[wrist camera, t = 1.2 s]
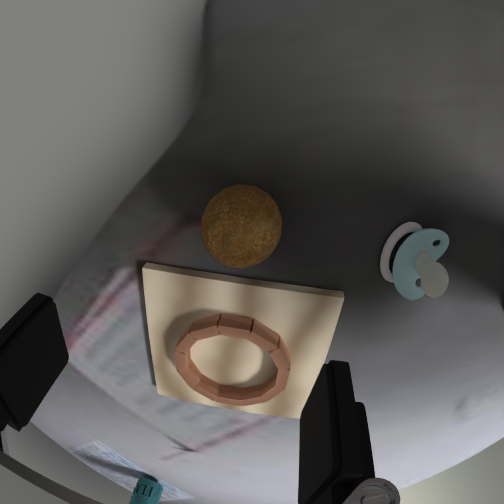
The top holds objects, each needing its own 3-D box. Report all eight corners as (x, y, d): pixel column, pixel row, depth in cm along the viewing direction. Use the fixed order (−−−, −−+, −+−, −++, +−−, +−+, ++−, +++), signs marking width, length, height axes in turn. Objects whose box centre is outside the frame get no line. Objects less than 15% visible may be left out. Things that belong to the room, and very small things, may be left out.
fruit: (201, 194, 29) (170, 227, 21) (262, 161, 27) (250, 184, 19) (236, 251, 31) (218, 299, 23) (296, 223, 29) (296, 266, 21)
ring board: (343, 291, 31) (346, 310, 28) (303, 412, 40) (303, 430, 37) (146, 262, 32) (133, 277, 29) (160, 387, 41) (153, 404, 38)
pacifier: (368, 277, 30) (419, 291, 30) (379, 315, 25) (437, 328, 24) (395, 208, 27) (447, 227, 27) (416, 235, 21) (475, 255, 21)
